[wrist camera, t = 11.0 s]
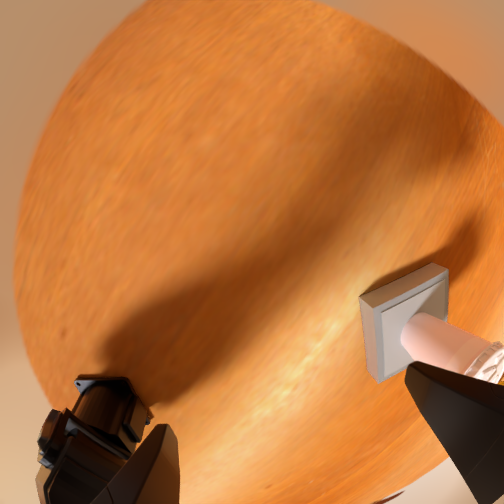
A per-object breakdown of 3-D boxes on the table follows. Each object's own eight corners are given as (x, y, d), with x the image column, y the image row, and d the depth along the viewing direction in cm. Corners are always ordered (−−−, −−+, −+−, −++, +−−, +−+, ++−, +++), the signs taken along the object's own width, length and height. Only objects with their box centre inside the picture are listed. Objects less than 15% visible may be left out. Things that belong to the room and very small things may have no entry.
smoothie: (429, 283, 20) (552, 356, 6) (445, 325, 22) (539, 396, 8) (378, 334, 20) (486, 445, 7) (401, 370, 22) (483, 462, 8)
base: (367, 370, 24) (378, 384, 22) (358, 296, 22) (373, 309, 20) (432, 333, 25) (445, 344, 22) (432, 262, 23) (449, 269, 20)
